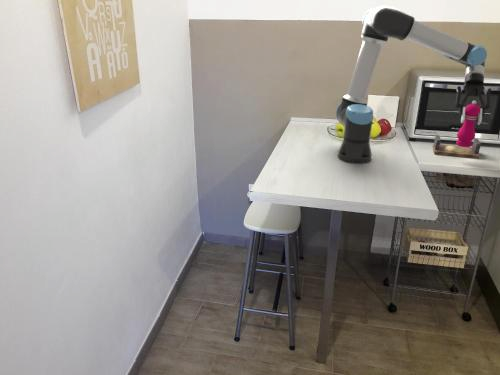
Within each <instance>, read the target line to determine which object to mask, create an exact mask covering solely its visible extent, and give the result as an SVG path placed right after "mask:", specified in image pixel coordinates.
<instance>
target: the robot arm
mask: <svg viewBox="0 0 500 375" xmlns="http://www.w3.org/2000/svg"><path fill="white" fill-rule="evenodd" d="M361 24H362V31H361V35H360V38H361V40H362V44H361V46H360V49H359V53H358V55H357V56H358V57H357V60H356V64H355V66H354V71H353V74H352V76H351V80H350V85H349V87H348V89H347V90H348V91H347V94H345V95H343V96H342V99H341V102H340V103H339V104H338V106H337V107H336V109H335V117H336V119H337V122H339V124H340V125H341V126H343V128H344V130H343V131H344V132H343V139H342V142H341V144H340V147H339V149H338V151H337V158H338V157H339V158H338V159H340V160H341V159H342V161H343V160H344V162H347V161H348V162H347V163H352V162H354V163H353V164H363V162H365V163H369V162H371V161H372V157H373V156H372V155H373V153H372V148H371V144H370V142H371V141H370V140H371V134H372V126H373V121H374V110H373V109H372V108H371V106H369V105H368V101H367V99H366V96H367V94H368V91H369V88H370V85H371V82H372V79H373V75H374V73H375V69H376V66H377V64H378V60H379V56H380V53H381V51H382V47H383V45H384V44H386V43H387V42H388V40H389V38H392V39H397V40H399V41H401V42H402V41H405V40H406V41H409V42H410V43H411V42H412V43H414V44H417V45H419V46H422V47H424V48H427V49H428V50H432V51H434V52H436V53H439V54H442V56H443V57H445V58H447V59H449V60H451V61H454V62H457V63H459V64H461V65H464V66H465V72H464V73H465V74H464V85H463V86H459V85H458V86H457V88H456V89H455V91H456V99H455V104H454V108H455V109H458V115H459V116H461V118H460V123H461V124H464V121H465V114H466V113H465V107H466V106H465V104H466V102H467V100H468V99H469V97H475V99H476V102H477V105H478V106H479V107H480V113H479V114H478V115H477V125H478V126H480V125H481V123H482V121H483V118H484V117H485V114H486V111H487V112H488V111H489V110H490V108H491V91H492V88H486V87H485V86H484V82H485V64H486V59H487V57H488V51H487V49H486V48H485V47H484V46H483V45H477V44H476V45H475V44H473V43H470V42H468V41H466V40H463V39H461V38H458V37H456V36H453V35H451V34H448V33H445V32H444V31H441V30H438V29H436V28H434V27H431V26H429V25H426V24H424V23H421V22H419V21H416V18H415V17H414V16H412V15H411V14H408V13H406V12H403V11H402V10H400V9H398V8H396V7H394V6H388V5H376V6H373V7H371V8H369V9H368V10H367V11H366V12H365V14H364V15H363V17H362V23H361ZM462 92H464V93H465V96H464V98H463V99H462V102H460V101H461V96H462ZM483 92H484V98H483V96H482V93H483ZM460 103H461V104H460Z"/></svg>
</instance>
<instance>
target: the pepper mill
mask: <svg viewBox="0 0 500 375" xmlns="http://www.w3.org/2000/svg"><path fill="white" fill-rule="evenodd" d="M464 107H465V119H464V122H463V123H462V124H463V125H462V126H461V127H460V128H459V130H458V131H457V133H456V137H457V139H456V141H455V142H456V143H455V144H456V145H455V146H461V147H472V146H473V141H474V139H476V131H475V123H476V120H478V114H479V113H480V107H479V104H478V101H477V100H473V101H472V102H471V103H469V104H467V105H466V106H464Z"/></svg>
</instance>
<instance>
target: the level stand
mask: <svg viewBox="0 0 500 375" xmlns="http://www.w3.org/2000/svg"><path fill="white" fill-rule="evenodd" d="M481 145H482V143H481V142H480V140H479V139H478V138H474V139H473V141H472V146H471V147H461V146H458V145H449V144H442V143H441V137H440V135H437V134H435V138H434V143H433V144H432V145H431V146H432V150H433V151H432V152H433V154H434V155H437V156H439V155H440V156H447V157H449V156H450V157H459V158H465V159H466V158H467V159H475V160H476V159H477V160H479V159H480V149H481Z"/></svg>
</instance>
